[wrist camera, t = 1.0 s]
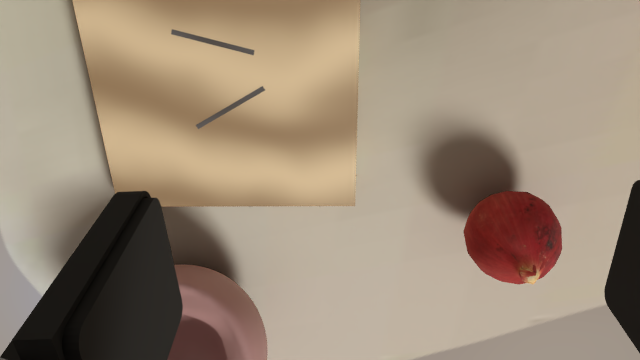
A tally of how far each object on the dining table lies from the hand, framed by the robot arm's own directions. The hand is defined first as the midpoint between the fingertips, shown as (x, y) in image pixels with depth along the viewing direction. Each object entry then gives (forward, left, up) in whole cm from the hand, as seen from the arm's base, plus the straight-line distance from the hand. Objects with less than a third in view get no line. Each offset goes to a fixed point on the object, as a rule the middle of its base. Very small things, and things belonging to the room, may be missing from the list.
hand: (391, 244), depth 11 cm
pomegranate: (+13, +11, -23) cm, 29 cm away
